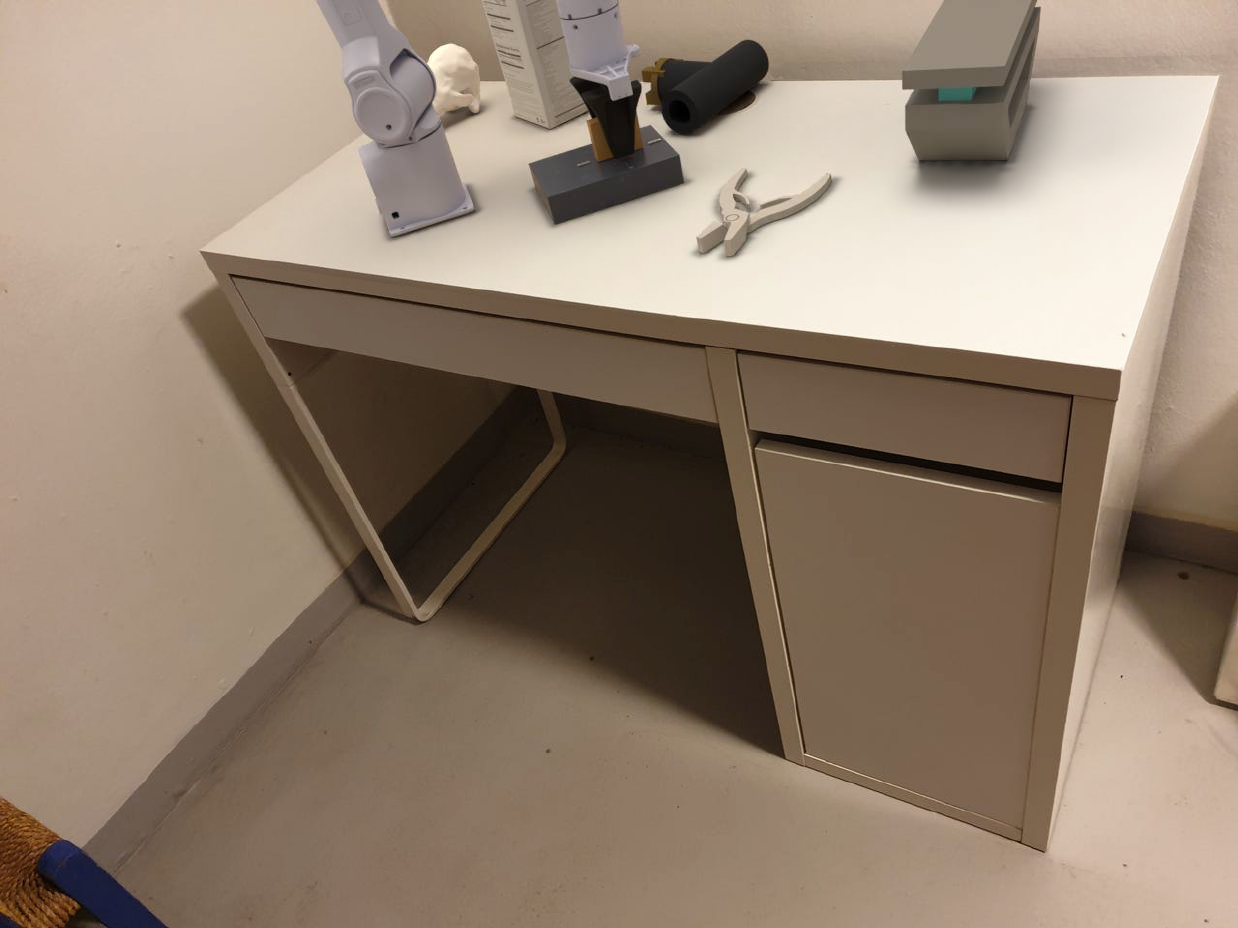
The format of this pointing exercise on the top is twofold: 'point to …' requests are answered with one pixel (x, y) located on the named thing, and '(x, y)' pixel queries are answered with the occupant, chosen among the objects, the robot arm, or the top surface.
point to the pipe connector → (703, 84)
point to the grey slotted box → (971, 79)
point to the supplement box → (534, 60)
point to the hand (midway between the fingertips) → (618, 148)
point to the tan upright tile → (601, 144)
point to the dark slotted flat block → (604, 177)
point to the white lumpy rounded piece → (455, 79)
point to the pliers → (742, 223)
